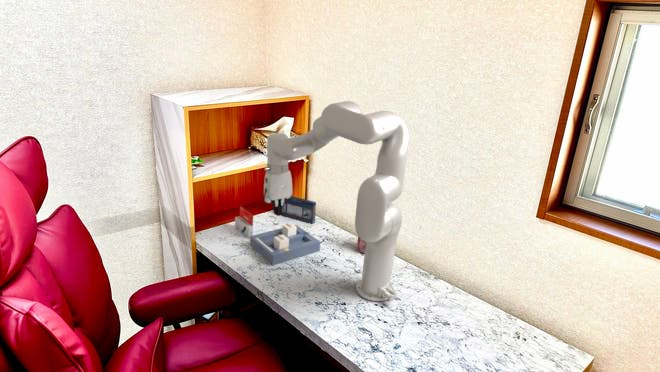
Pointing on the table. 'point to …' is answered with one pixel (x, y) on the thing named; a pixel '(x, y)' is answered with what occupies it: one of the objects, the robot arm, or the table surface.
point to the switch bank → (297, 248)
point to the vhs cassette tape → (299, 209)
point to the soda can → (361, 245)
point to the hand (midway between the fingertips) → (277, 214)
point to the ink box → (244, 223)
